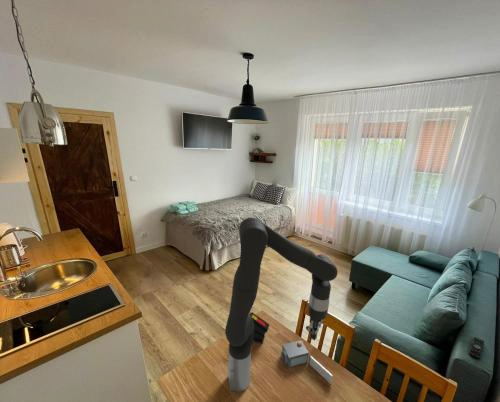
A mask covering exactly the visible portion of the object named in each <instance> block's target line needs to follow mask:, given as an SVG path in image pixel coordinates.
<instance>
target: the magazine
mask: <svg viewBox="0 0 500 402" xmlns="http://www.w3.org/2000/svg"><path fill="white" fill-rule="evenodd" d="M249 315H250V316H251V317H252V319H253V322H254V337H253V342H255V343H259V344H260V345H262V344H263V343H264V340H265V338H266V333H268V330H269V327H270V323H268V322H267V321H266V320H264V319H263V318H261V317H259V316H258V315H257V314H255V313H254V312H253V311H251V312H250V313H249Z"/></svg>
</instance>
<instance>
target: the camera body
mask: <svg viewBox="0 0 500 402" xmlns="http://www.w3.org/2000/svg"><path fill="white" fill-rule="evenodd" d="M281 348H282V349H281V352H280V358H281V360H282V362H283V363H284V364H285V365H286V366H287V368H292V367H293V368H294V367H297V366H300V365H302V364H306V363H308V361H309V351H308V349H307V347H306V346H305V344H304V342H303V340H302V339H300V340H296V341H291V342H287V343H284V344H282V347H281Z"/></svg>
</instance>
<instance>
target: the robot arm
mask: <svg viewBox="0 0 500 402" xmlns="http://www.w3.org/2000/svg"><path fill="white" fill-rule="evenodd" d="M238 227H239V228H238V234H239V241H240V253H239V254H240V255H239V256H240V258H239V264H238V266H237V269H236V271H235V273H234V276H233V282H232V287H231V288H232V289H231V291H232V292H231V299H230V307H229V314H228V317H227V321H226V325H225V331H224V333H225V337H226V339H227V341H228V360H227V380H228V384H229V385H228V386H229V389H230V391H235V392H238V393H240V392H243V391H246V390H247V389H248V388H249V386H250V384H251V365H252V364H251V360H252V357H251V356H252V347H253V344H254V341H253V337H254V322H253V319H252V317H251V316H250V315H249V314H250V313H251V312H252V311H251V310H252V308H253V306H254V304H255V301H256V297H257V294H258V290H259V285H260V277H261V276H260V275H261V267H262V260H263V257H264V254H265V251H266V247H269V248H271V250H274V251H275V252H276V253H278V255H280V256H281V257H282V258H284V259H285V260H287V261H288V262H290V263H291V264H293V265H296V266H298V267H300V268H302V269H305V270H306V271H308V272H309V273H311V280H312V281H311V282H312V283H311V289H310V294H309V298H308V305H307V312H308V315H309V325H306V326H305V330H306V331H307V332H308V333H309V334H310V335H309V337H310V339H311V340H313V341H316V339H317V338H318V332H319V330H320V328H322V324H323V323H324V322H323V321H324V320H325V319H327V317H328V311H329V307H330V296H331V290H332V286H331V285H332V284H331V281H333V280H335V279H336V278H337V277H338V274H339V273H338V269H337V266H336V265H335V264H334V263H333V261H332V260H331V259H330V258H329V257H328V256H327V255H325V254H322V253H321V254H316V253H315V252H314V251H312V250H311V249H309V248H306V247H305V246H303V245H301V244H298V243H297V242H295V241H292V240H291V239H290V238H287V237H286V236H284V235H282V234H280V233H279V232H278V231H276V230H274V229H272V228H271V227H270V226H268V225H267V224H266V223H264V222H263V221H262V220H260V219H258V218H257V217H247V218H245V219H243V220H242V221H241V222H240V224H239V226H238Z"/></svg>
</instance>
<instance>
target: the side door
mask: <svg viewBox="0 0 500 402" xmlns="http://www.w3.org/2000/svg"><path fill="white" fill-rule="evenodd" d="M307 363H308V365H309V366H310V367H312V368H313V370H314V371H316V372H317V373H318V374H319V375H321V377H322V378H324V380H325V381H327V383H328V384H330V385H331V384H332V380H333V374H332V373H331V372H330V371H329V370H328V369H326V368H325V367H324V366H323V365H322V364H321V363H320V362H319V361H317V360H316V359H315V358H314V357H313V356H312V355H311V354H308V361H307Z"/></svg>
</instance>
